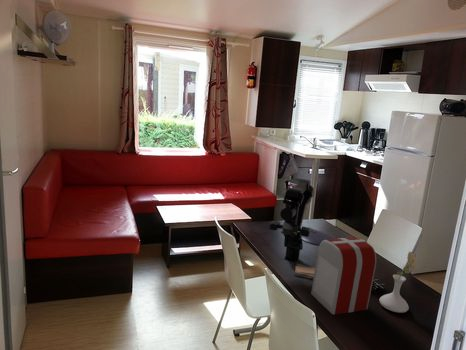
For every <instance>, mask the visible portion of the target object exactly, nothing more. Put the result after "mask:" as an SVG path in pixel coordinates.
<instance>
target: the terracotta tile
mask: <svg viewBox="0 0 466 350" xmlns="http://www.w3.org/2000/svg"><path fill="white" fill-rule="evenodd" d="M294 269H295V271H296V272H300V273H305V274H309V275H313V276H314V272H315V267H314V268H308V267H302V266H297V265H295V268H294ZM295 271H294V272H295Z"/></svg>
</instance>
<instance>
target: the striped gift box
mask: <svg viewBox="0 0 466 350" xmlns="http://www.w3.org/2000/svg"><path fill="white" fill-rule="evenodd" d="M376 266H377V253H376V250H375V248H374V246H372V245H371V244H370V243H368V242H367V241H366V240H364V239H361V238H359V237H347V238H345V237H340V238H336V239H330V240H323V241H322V242H321V244H320V245H319V246H318V249H317V255H316V262H315V267H314V268H315V272H314V279H312V286H311V292H310V294H311V296H313V297H314V298H315V299H316V300H317V301H318V302H319V303H320V304H321V305H322V306H323V307H324V308H325V309H326V310H327V311H328V312H329V313H330V314H331V315H341V314H346V313H347V314H349V313H354V312H359V311H366V310H368V308H369V302H370V298H371V291H372V287H373V282H374V276H375V271H376Z"/></svg>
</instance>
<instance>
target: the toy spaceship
mask: <svg viewBox="0 0 466 350" xmlns="http://www.w3.org/2000/svg"><path fill="white" fill-rule="evenodd" d="M308 228H310V233H309V236H308V237H305V236H302V238H301V239H302V242H304V243H306V244H309V245H311V246H315V247H319V245H320V244H321V242H322V241H323V240H330V239H337V238H336V237H335V236H334V235H332V234H330V233H327V232H325V231H321V230H317V229H314V228H312V227H309V226H308Z"/></svg>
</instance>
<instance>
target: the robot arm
mask: <svg viewBox="0 0 466 350" xmlns="http://www.w3.org/2000/svg"><path fill="white" fill-rule="evenodd" d="M314 194H315V189H314V187H313V186H312V185H311V184H310V182H309V181H306V180H299V181H298V183H297V184H296V185H295V186H294V187H293V186H292V187H289V188H288V189H286V191H285V193H284V197H283V200H282V204H283V205H285V206H284V208H282V209H281V210H280V212H279V213H280V214H279V215H280V218H281V219H282V220H283V223H282V224H281V222H280V221H275V220H272V221H271V222H270V223H269V226H268V227H269V230H270V231H271V230H272V231H277V230H278V229H280V234H282V235H283V237H284V240H283V247H285V256H284V260H288V261H291V262H296V263H297V262H298V260H299V259H300V254H301V251H302V250H303V249H304V248H303V247H304V246H303V245H304V243H303V242H304V241H302V239H301V238H302V236H305V237H308V236H309V233H310V229H311V227H310V228H309V226H308V227H307V226H302V225H303V221H304V218H305V212H306V211H307V210H306V209H307V206H308V204H309V203H310V202H311V201H312V199H313V197H314Z"/></svg>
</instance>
